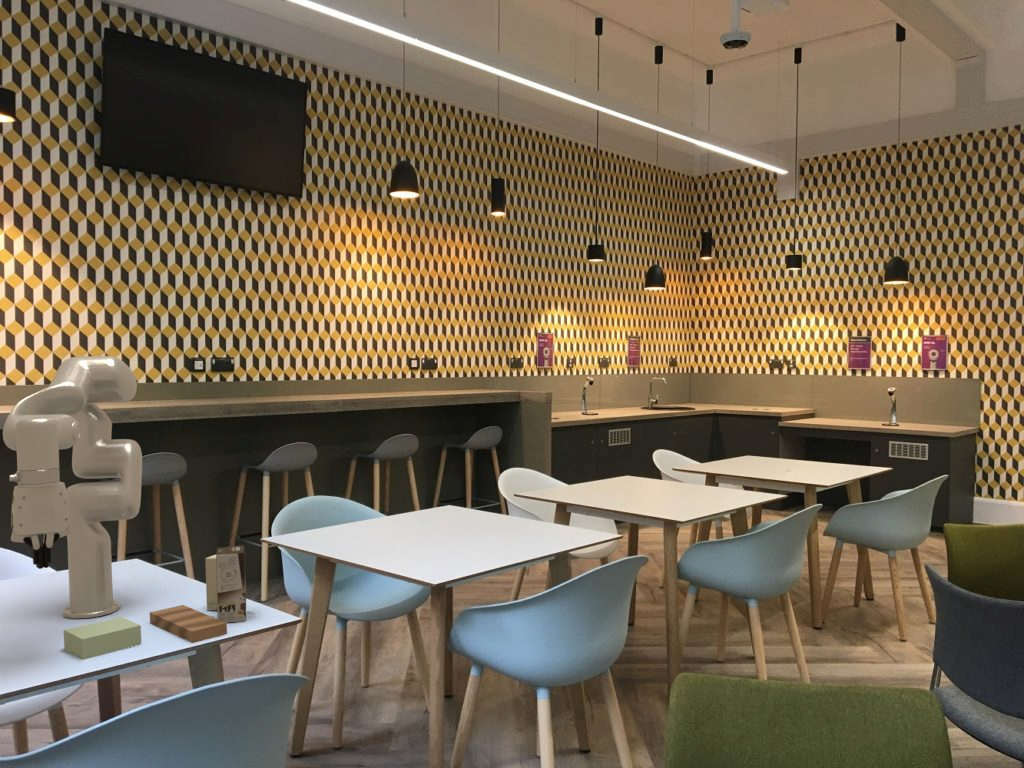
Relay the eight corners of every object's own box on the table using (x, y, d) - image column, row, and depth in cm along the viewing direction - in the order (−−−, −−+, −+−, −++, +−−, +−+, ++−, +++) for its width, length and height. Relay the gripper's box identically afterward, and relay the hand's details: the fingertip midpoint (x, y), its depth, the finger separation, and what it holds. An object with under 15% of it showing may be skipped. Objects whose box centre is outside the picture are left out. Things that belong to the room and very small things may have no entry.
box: (222, 611, 210) (220, 558, 210) (206, 610, 211) (204, 558, 211) (233, 605, 216) (232, 553, 215) (217, 604, 216) (215, 553, 216)
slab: (64, 650, 184) (63, 629, 184) (121, 636, 193) (120, 616, 193) (83, 661, 178) (82, 639, 178) (141, 646, 187) (140, 625, 186)
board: (150, 625, 202) (149, 612, 202) (183, 617, 208) (183, 604, 208) (192, 645, 187) (191, 631, 187) (227, 636, 192) (226, 622, 192)
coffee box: (246, 621, 202) (244, 552, 201) (217, 624, 200) (215, 554, 199) (247, 610, 210) (244, 544, 210) (219, 613, 209) (216, 546, 208)
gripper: (0, 483, 170) (4, 576, 170) (83, 475, 179) (86, 564, 180) (-7, 480, 175) (-4, 570, 176) (73, 472, 185) (76, 558, 186)
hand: (42, 567), depth 178 cm, fingers closed
